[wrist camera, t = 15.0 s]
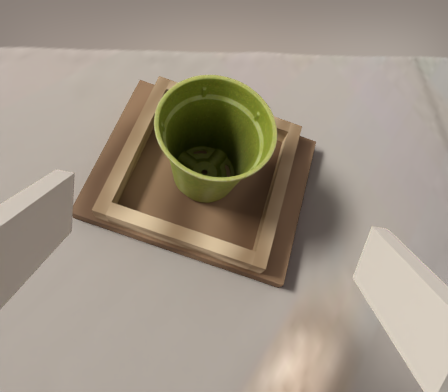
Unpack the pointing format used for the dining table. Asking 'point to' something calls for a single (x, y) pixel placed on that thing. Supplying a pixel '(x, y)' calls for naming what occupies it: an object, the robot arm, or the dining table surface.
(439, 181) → the dining table surface
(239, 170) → the plant pot
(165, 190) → the walnut pot stand
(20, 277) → the robot arm
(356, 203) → the dining table surface
